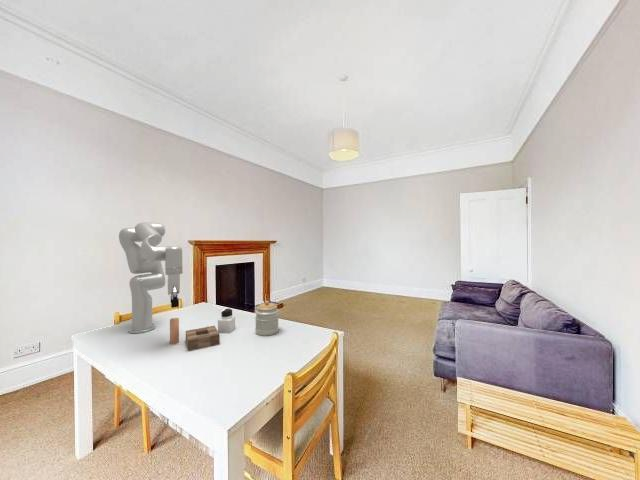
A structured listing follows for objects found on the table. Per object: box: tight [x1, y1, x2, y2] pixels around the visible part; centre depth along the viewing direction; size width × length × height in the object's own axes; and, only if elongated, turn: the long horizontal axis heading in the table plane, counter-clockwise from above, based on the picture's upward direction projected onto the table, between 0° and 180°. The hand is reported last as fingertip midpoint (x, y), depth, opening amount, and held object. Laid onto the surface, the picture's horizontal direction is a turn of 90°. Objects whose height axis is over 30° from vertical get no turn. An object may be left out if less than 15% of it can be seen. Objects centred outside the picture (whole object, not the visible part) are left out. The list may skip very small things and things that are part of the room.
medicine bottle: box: [217, 308, 236, 334], centre depth 142 cm, size 7×7×12 cm
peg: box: [169, 317, 180, 345], centre depth 125 cm, size 4×4×12 cm
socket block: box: [185, 325, 221, 352], centre depth 126 cm, size 14×14×5 cm
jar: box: [254, 300, 280, 337], centre depth 140 cm, size 13×13×18 cm
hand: (174, 304), depth 125 cm, fingers open, 9 cm apart
